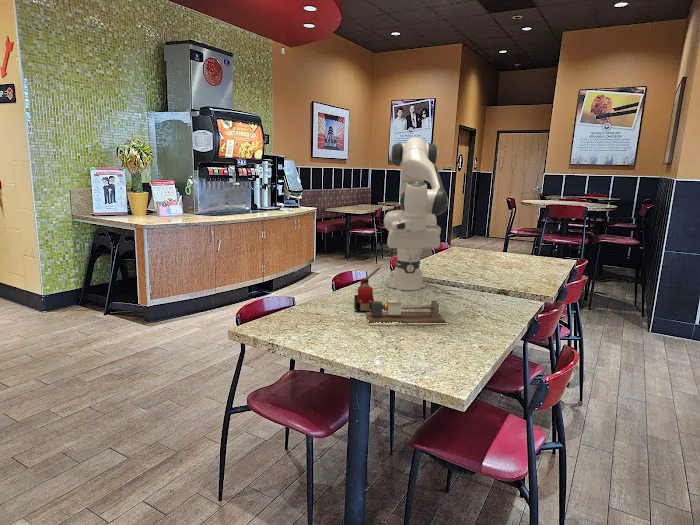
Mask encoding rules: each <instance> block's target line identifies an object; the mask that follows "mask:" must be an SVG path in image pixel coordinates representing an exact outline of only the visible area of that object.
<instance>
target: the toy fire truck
mask: <svg viewBox="0 0 700 525" xmlns="http://www.w3.org/2000/svg"><path fill="white" fill-rule="evenodd" d="M381 269H382V266H378V267H377V268H375V269H374V270H373V272H371V273H370V274H369V275H368V276H366V277H362V279H360V285H359V287H358V289H357V294H355V295H354V296H353V300H354V302H353V303H355V304H354V311H355V310H360V311H359V312H361V311H365V312H371V311H370V310H371V301H375V298H374V295H373V294H374V293H373V292H374V290H373V286H370V285H369V284H370V283H369V279H370V278H371V277H373V276H374V275H375V274H376V273H377V272H378V271H380V270H381Z"/></svg>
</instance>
